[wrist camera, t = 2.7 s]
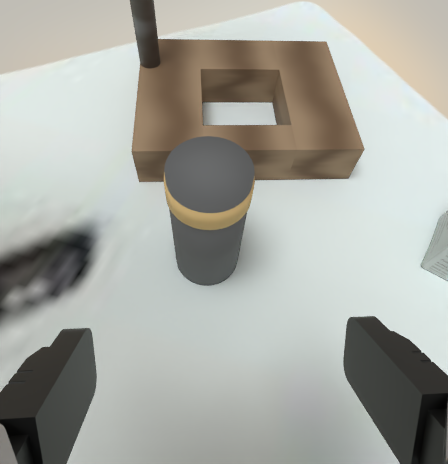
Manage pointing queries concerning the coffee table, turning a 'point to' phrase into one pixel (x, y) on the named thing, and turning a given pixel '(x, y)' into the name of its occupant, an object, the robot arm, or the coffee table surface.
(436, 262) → the skincare box
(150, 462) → the coffee table surface
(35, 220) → the coffee table surface
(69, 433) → the robot arm
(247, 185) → the banded grey cylinder
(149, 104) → the wooden gallows stand
